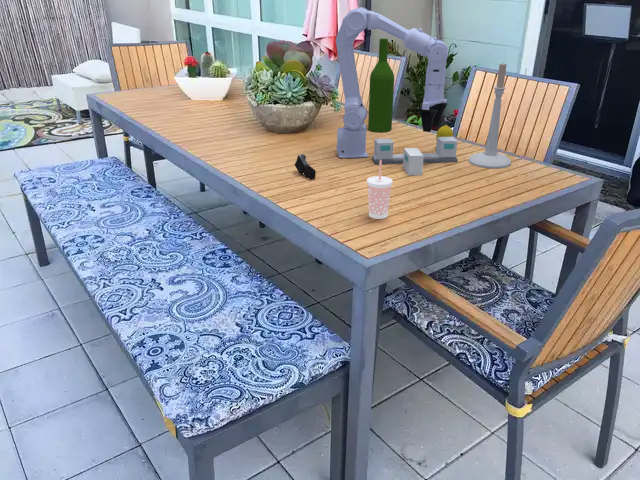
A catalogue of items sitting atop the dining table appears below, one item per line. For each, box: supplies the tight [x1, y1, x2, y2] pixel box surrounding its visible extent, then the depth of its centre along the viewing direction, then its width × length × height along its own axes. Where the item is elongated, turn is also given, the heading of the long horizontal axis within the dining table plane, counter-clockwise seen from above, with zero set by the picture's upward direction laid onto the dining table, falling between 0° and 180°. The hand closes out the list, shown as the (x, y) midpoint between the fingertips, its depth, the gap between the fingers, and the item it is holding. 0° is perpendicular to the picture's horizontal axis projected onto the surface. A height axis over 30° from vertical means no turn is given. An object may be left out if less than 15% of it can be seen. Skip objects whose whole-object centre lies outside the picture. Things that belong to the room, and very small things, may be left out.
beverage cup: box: [366, 160, 394, 220], centre depth 127 cm, size 6×6×14 cm
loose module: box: [402, 147, 424, 176], centre depth 159 cm, size 4×8×6 cm, turn 4°
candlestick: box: [468, 63, 512, 170], centre depth 161 cm, size 13×13×30 cm
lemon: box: [435, 124, 454, 141], centre depth 179 cm, size 6×6×8 cm
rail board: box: [371, 136, 458, 165], centre depth 168 cm, size 26×6×7 cm, turn 94°
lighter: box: [294, 153, 317, 180], centre depth 156 cm, size 9×2×6 cm
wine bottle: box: [367, 38, 395, 133], centre depth 197 cm, size 9×9×32 cm
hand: (430, 128), depth 166 cm, fingers open, 7 cm apart
